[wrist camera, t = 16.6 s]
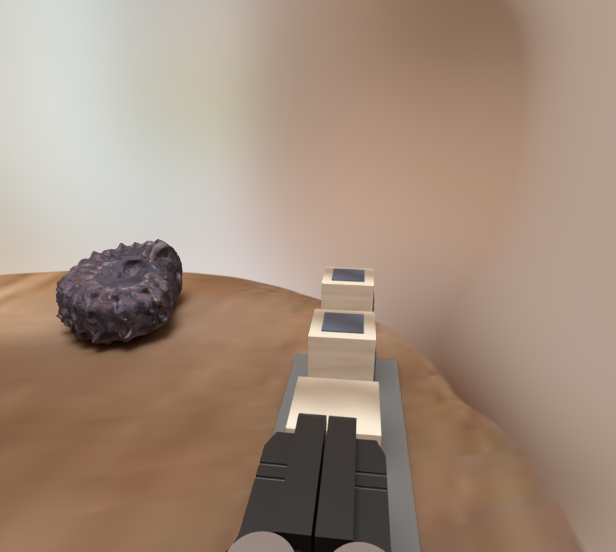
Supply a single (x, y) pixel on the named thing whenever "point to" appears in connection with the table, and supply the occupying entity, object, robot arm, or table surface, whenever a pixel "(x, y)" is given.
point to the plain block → (339, 403)
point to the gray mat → (391, 444)
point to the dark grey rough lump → (120, 292)
